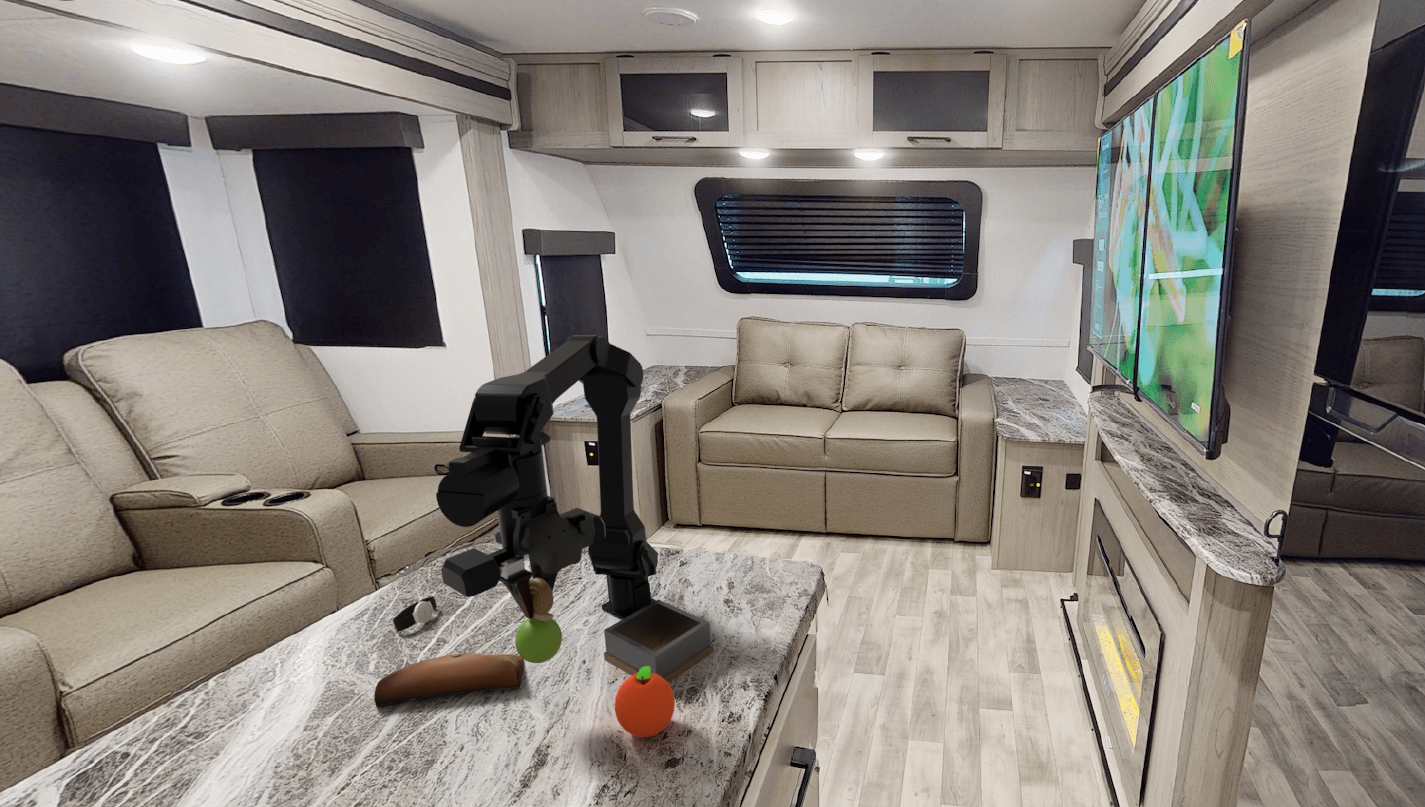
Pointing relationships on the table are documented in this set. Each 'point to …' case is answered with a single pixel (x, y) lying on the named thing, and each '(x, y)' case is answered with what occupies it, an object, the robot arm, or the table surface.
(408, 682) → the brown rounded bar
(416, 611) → the watch
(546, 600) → the snail figurine
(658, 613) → the grey planter box
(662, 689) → the clementine
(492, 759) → the table surface
